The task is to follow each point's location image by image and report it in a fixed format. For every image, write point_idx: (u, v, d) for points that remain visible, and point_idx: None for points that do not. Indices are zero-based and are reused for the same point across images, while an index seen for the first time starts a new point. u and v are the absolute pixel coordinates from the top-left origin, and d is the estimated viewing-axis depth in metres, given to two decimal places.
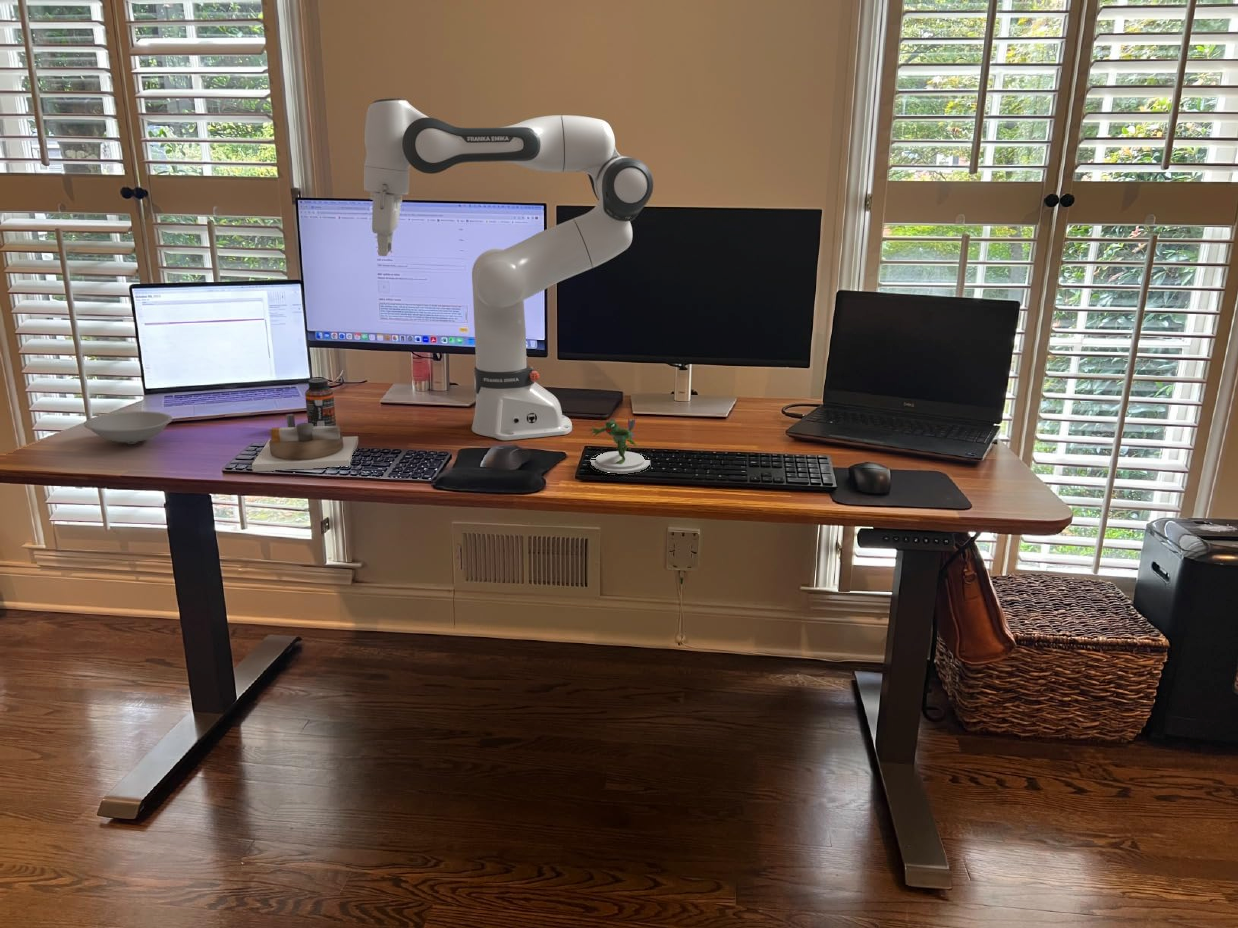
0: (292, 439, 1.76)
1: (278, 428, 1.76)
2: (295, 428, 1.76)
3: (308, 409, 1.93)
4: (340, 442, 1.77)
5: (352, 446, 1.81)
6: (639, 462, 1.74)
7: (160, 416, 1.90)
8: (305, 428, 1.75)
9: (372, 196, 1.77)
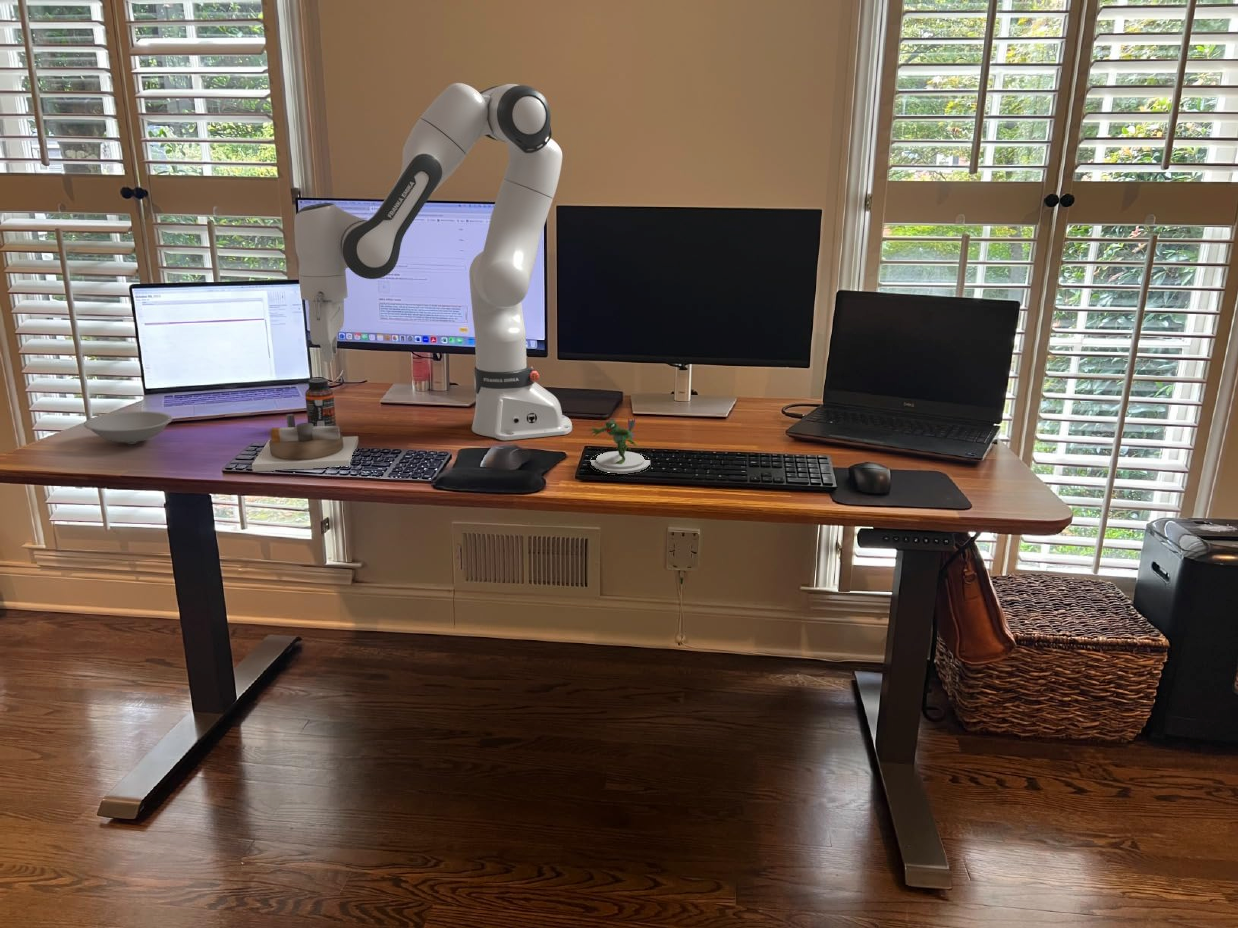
0: (292, 439, 1.76)
1: (278, 428, 1.76)
2: (295, 428, 1.76)
3: (308, 409, 1.93)
4: (340, 442, 1.77)
5: (352, 446, 1.81)
6: (639, 462, 1.74)
7: (160, 416, 1.90)
8: (305, 428, 1.75)
9: (310, 304, 1.72)
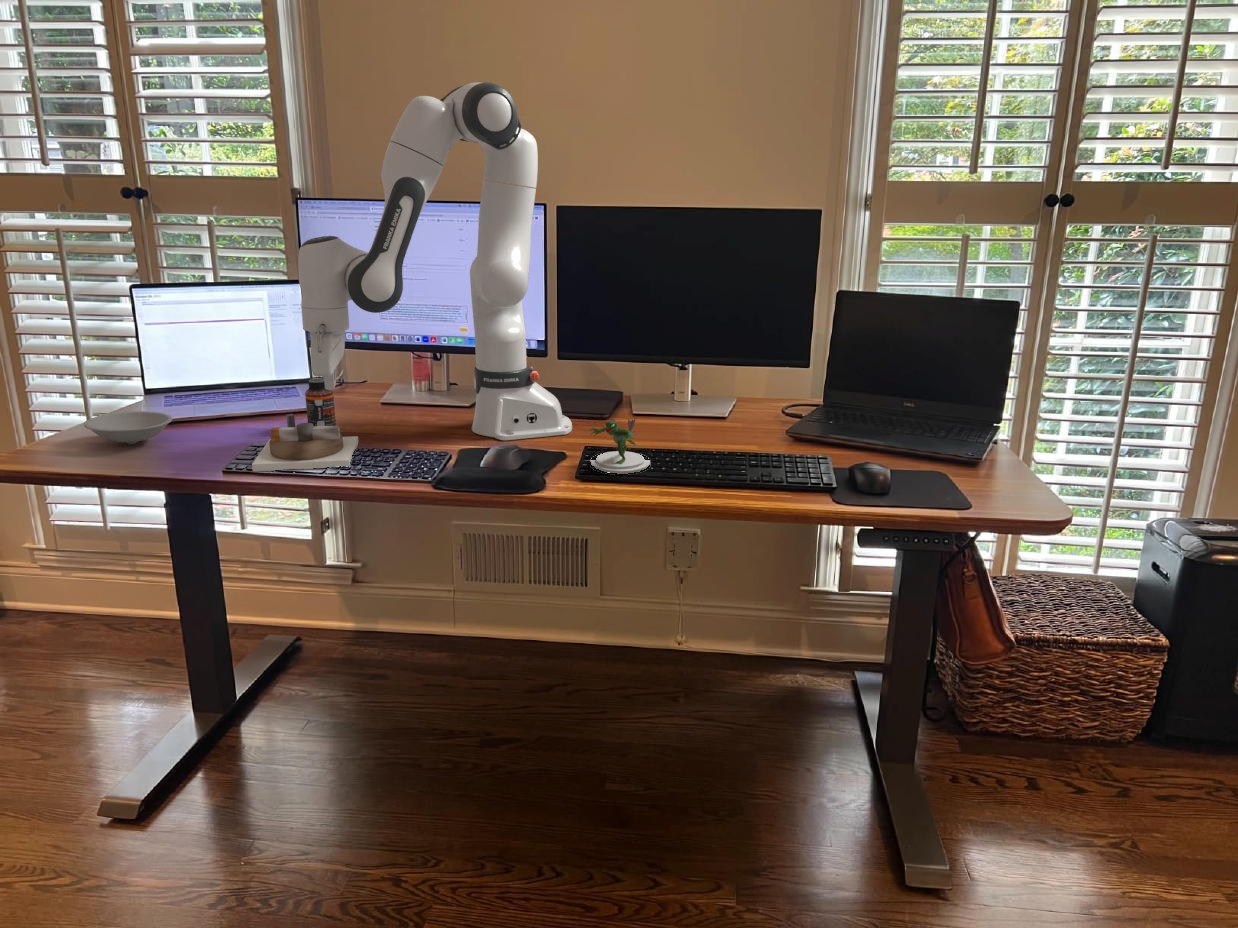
0: (292, 439, 1.76)
1: (278, 428, 1.76)
2: (295, 428, 1.76)
3: (308, 409, 1.93)
4: (340, 442, 1.77)
5: (352, 446, 1.81)
6: (639, 462, 1.74)
7: (160, 416, 1.90)
8: (305, 428, 1.75)
9: (312, 335, 1.74)
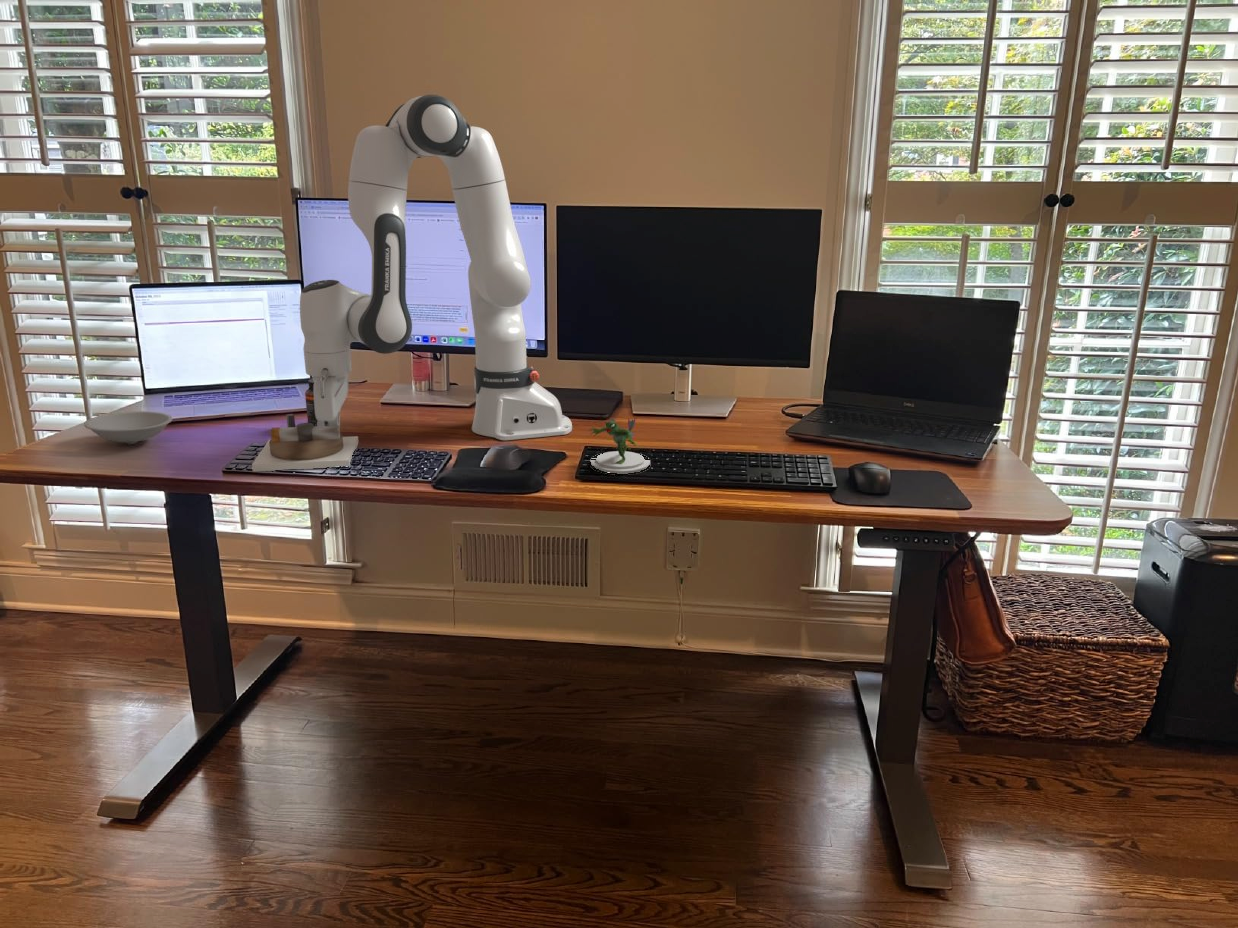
0: (292, 439, 1.76)
1: (278, 428, 1.76)
2: (295, 428, 1.76)
3: (308, 409, 1.93)
4: (340, 442, 1.77)
5: (352, 446, 1.81)
6: (639, 462, 1.74)
7: (160, 416, 1.90)
8: (305, 428, 1.75)
9: (314, 379, 1.74)
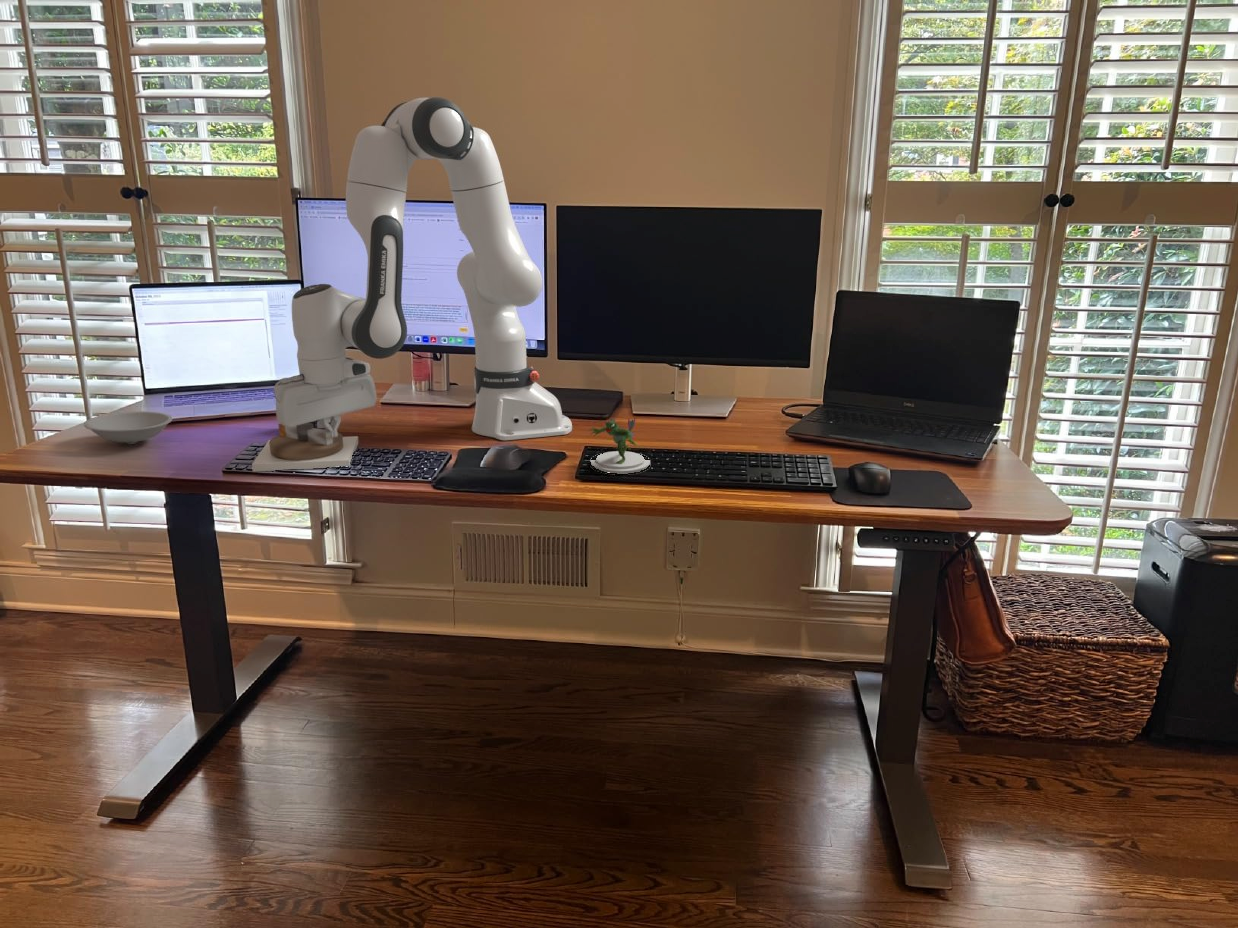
0: (294, 437, 1.78)
1: None
2: (297, 427, 1.77)
3: None
4: (325, 448, 1.74)
5: (352, 446, 1.81)
6: (639, 462, 1.74)
7: (160, 416, 1.90)
8: (300, 428, 1.75)
9: None
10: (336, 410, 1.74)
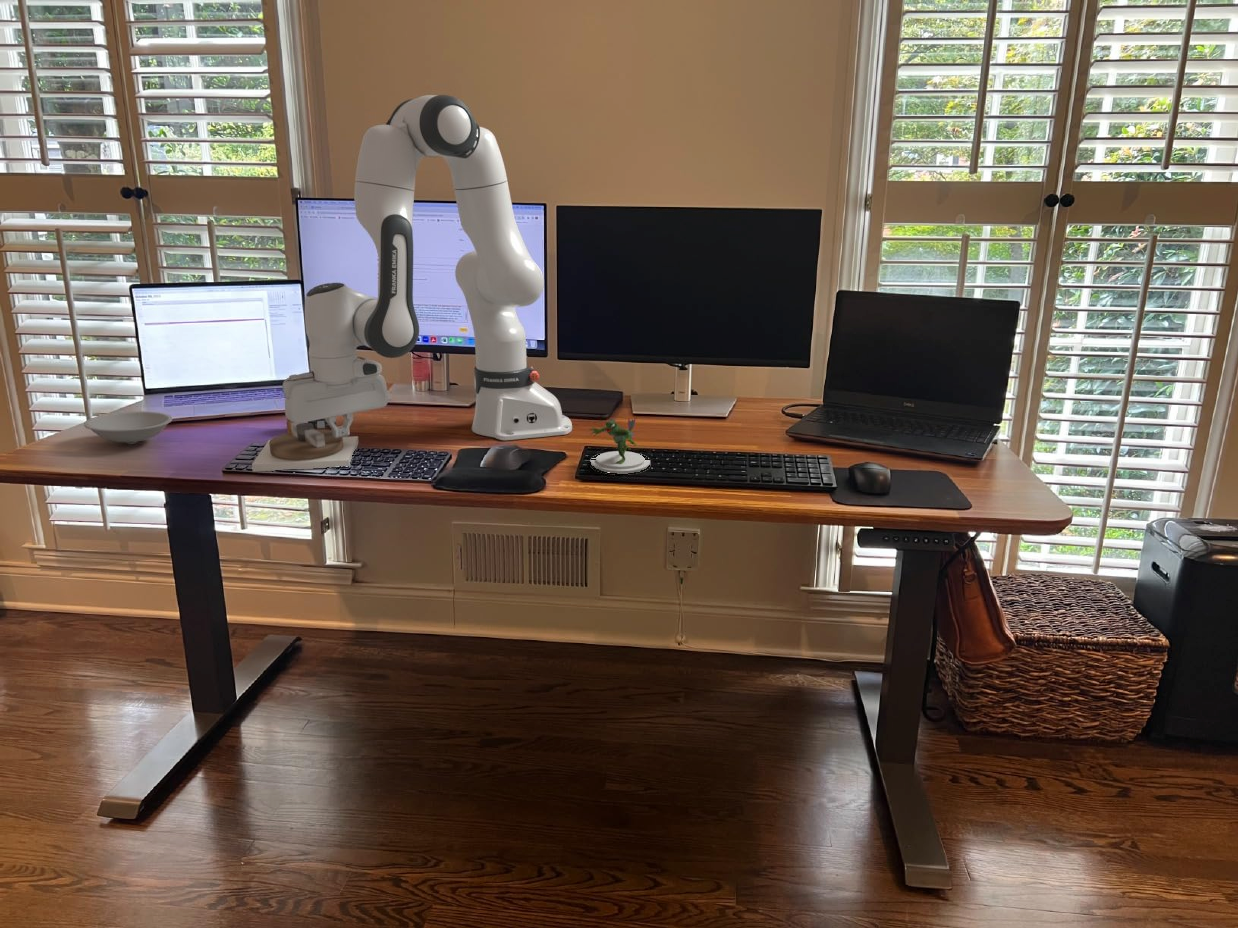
0: (296, 435, 1.79)
1: None
2: None
3: None
4: (314, 450, 1.72)
5: (352, 446, 1.81)
6: (639, 462, 1.74)
7: (160, 416, 1.90)
8: (298, 428, 1.76)
9: None
10: (345, 409, 1.74)
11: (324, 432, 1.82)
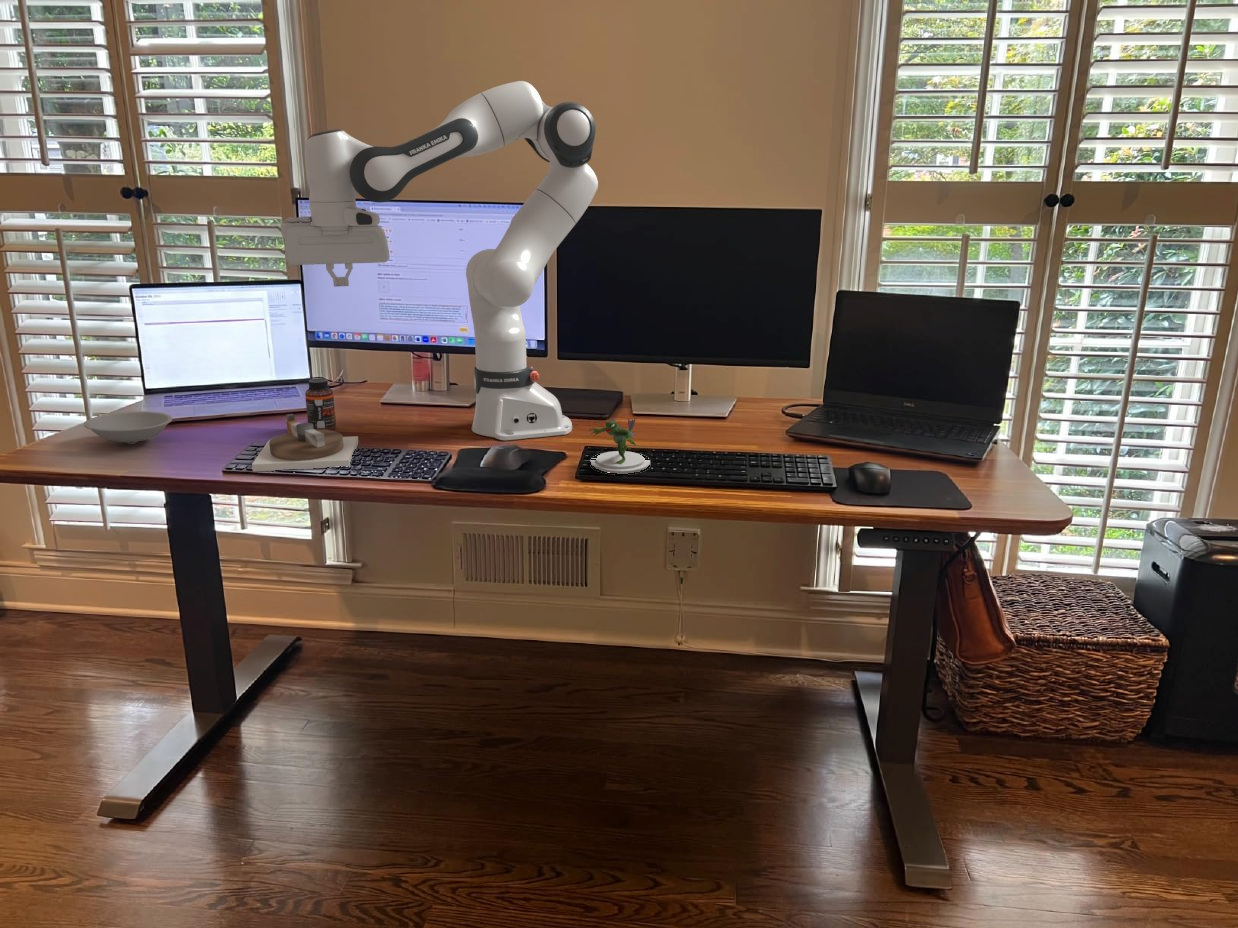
0: (296, 435, 1.79)
1: (294, 422, 1.81)
2: None
3: (308, 409, 1.93)
4: (314, 450, 1.72)
5: (352, 446, 1.81)
6: (639, 462, 1.74)
7: (160, 416, 1.90)
8: (298, 428, 1.76)
9: None
10: (341, 258, 1.78)
11: (324, 432, 1.82)
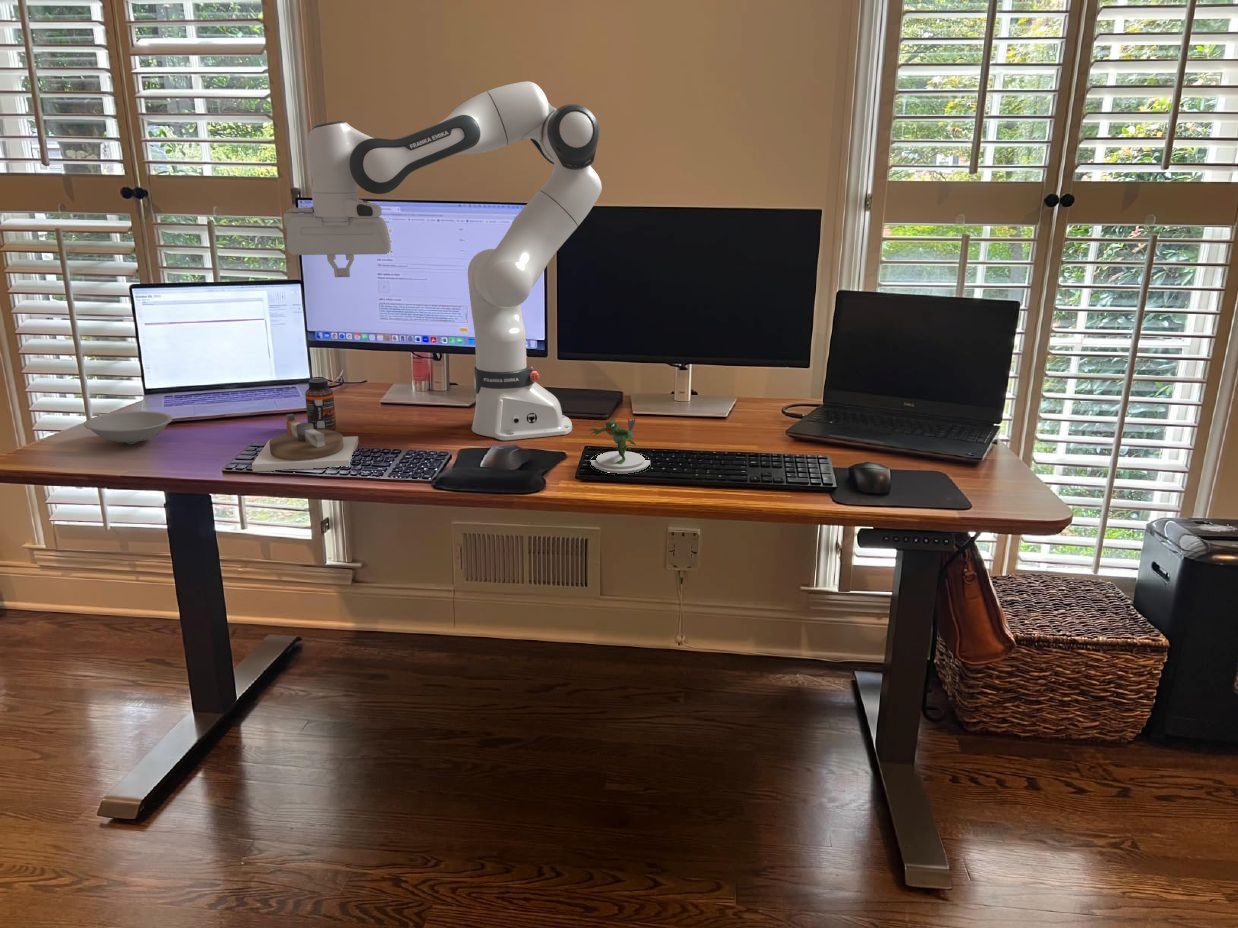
0: (296, 435, 1.79)
1: (294, 422, 1.81)
2: None
3: (308, 409, 1.93)
4: (314, 450, 1.72)
5: (352, 446, 1.81)
6: (639, 462, 1.74)
7: (160, 416, 1.90)
8: (298, 428, 1.76)
9: None
10: (342, 249, 1.79)
11: (324, 432, 1.82)
